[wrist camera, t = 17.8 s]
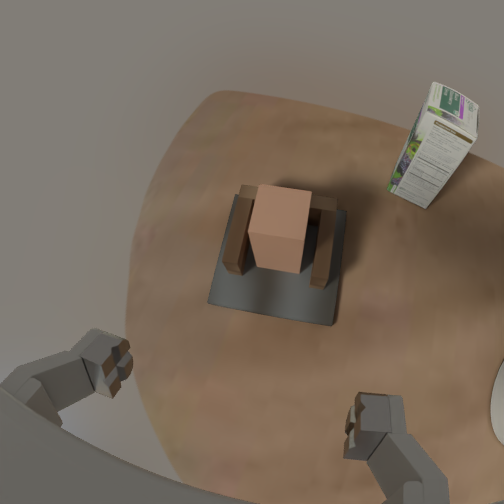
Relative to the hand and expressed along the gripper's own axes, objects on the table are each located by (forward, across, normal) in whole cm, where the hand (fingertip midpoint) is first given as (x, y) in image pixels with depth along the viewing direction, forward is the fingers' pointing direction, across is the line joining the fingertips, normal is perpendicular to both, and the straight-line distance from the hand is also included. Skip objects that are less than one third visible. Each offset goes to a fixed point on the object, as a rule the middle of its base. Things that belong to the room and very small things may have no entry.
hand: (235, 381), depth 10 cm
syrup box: (+33, -13, -2) cm, 36 cm away
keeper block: (+24, +1, +6) cm, 25 cm away
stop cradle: (+24, +2, +6) cm, 25 cm away
